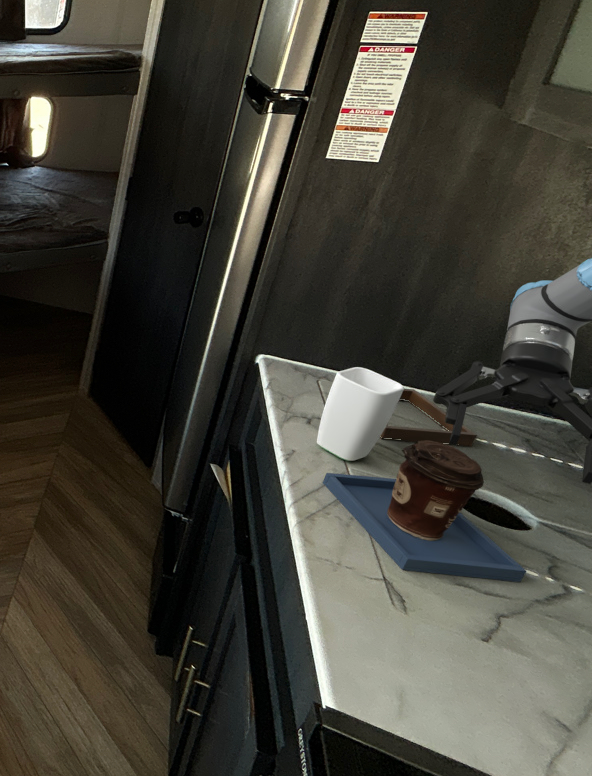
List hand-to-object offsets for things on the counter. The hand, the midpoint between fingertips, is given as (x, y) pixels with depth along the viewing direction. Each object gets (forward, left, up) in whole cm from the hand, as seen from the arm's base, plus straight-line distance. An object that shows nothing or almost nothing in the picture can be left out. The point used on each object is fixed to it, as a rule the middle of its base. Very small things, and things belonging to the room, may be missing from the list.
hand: (518, 458), depth 95 cm
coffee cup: (-6, +15, -10) cm, 19 cm away
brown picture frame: (+24, -3, -10) cm, 27 cm away
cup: (+12, +14, -10) cm, 21 cm away
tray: (-6, +15, -10) cm, 19 cm away
